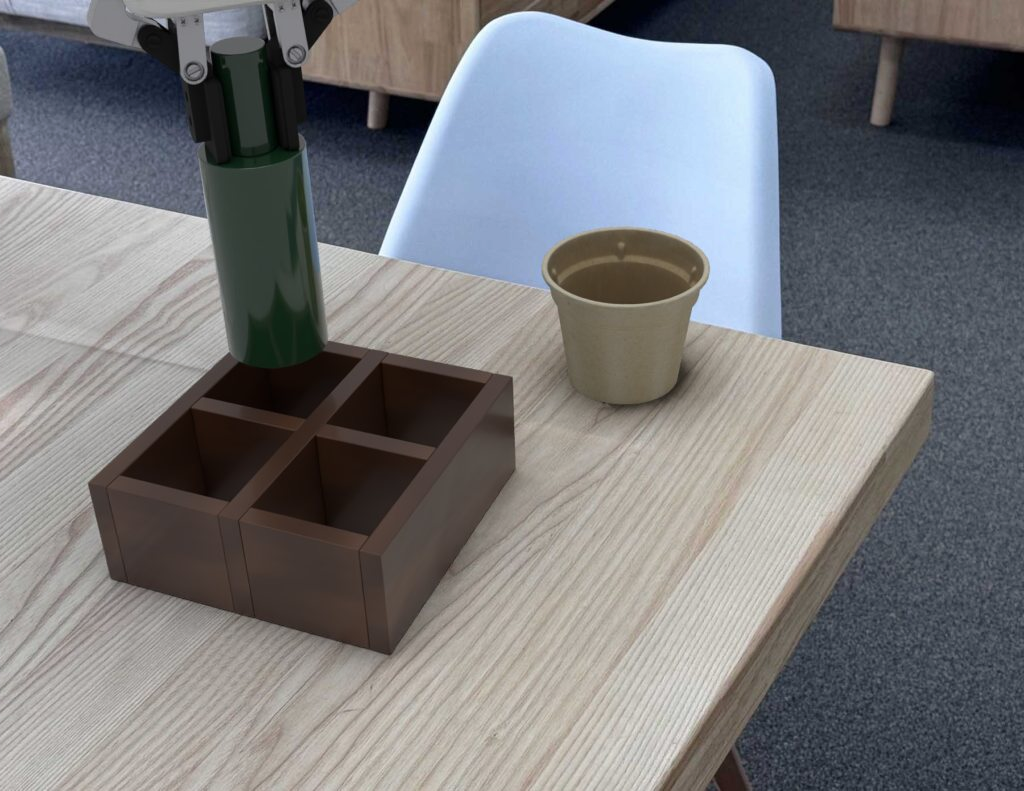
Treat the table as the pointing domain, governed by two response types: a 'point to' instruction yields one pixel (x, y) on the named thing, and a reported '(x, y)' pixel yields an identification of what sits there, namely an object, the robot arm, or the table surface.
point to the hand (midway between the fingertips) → (251, 143)
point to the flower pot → (624, 309)
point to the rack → (311, 489)
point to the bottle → (262, 221)
